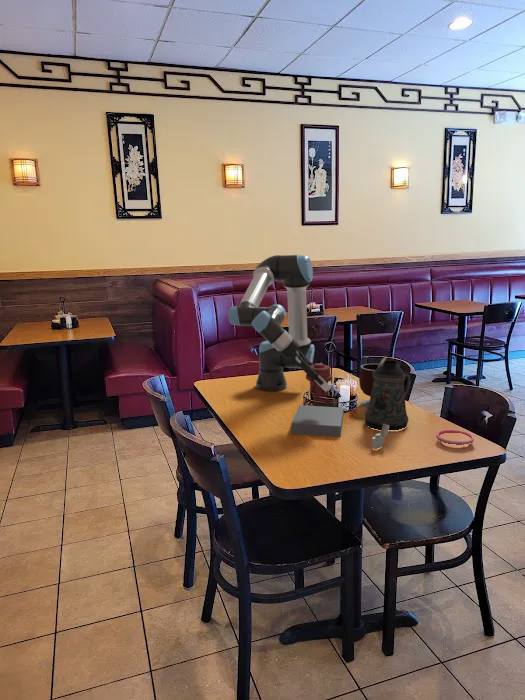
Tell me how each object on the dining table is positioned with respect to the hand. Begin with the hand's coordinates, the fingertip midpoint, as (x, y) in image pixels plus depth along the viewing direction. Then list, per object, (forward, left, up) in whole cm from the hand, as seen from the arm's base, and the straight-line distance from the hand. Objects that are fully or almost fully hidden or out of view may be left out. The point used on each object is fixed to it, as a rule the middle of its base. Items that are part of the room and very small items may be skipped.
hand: (327, 385), depth 196 cm
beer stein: (-6, +23, -16) cm, 29 cm away
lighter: (+19, +20, -16) cm, 32 cm away
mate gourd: (-30, +19, -16) cm, 39 cm away
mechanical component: (+1, -3, -4) cm, 5 cm away
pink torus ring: (+10, +46, -16) cm, 50 cm away
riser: (0, -3, -16) cm, 16 cm away
